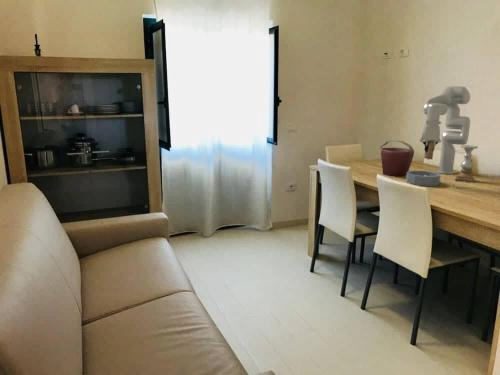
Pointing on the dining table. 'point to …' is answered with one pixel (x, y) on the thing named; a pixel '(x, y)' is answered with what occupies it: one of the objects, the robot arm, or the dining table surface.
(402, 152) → the bucket
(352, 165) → the dining table surface
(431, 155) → the brown rectangular block
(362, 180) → the dining table surface
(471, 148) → the candle holder
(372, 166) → the dining table surface
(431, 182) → the grey bowl
